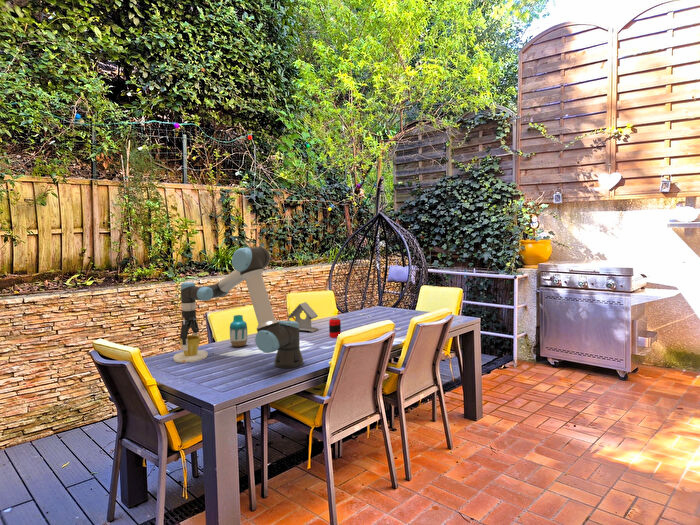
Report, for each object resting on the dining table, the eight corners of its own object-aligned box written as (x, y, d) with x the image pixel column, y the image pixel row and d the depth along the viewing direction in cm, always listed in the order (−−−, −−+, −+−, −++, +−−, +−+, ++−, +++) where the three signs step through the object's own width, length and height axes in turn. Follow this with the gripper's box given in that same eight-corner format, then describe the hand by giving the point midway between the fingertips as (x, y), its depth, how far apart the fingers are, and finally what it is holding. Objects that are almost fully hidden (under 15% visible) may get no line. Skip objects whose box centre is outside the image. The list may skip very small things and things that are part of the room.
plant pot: (194, 357, 237) (193, 340, 236) (177, 356, 239) (176, 339, 238) (204, 352, 247) (203, 335, 246) (187, 351, 249) (187, 335, 248)
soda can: (340, 335, 291) (340, 317, 291) (340, 337, 284) (340, 319, 283) (329, 335, 291) (329, 317, 290) (329, 338, 284) (329, 320, 283)
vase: (226, 347, 264) (225, 316, 262) (236, 343, 274) (235, 313, 272) (241, 349, 260) (240, 317, 259) (251, 344, 270) (250, 314, 269)
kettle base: (200, 362, 234) (200, 359, 233) (167, 362, 234) (167, 359, 234) (212, 353, 252) (212, 350, 251) (182, 353, 252) (181, 350, 252)
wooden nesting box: (318, 330, 307) (317, 302, 306) (311, 333, 299) (311, 304, 297) (295, 328, 314) (294, 301, 313) (288, 331, 306) (288, 303, 304)
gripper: (191, 306, 254) (192, 341, 255) (172, 314, 229) (173, 353, 230) (203, 305, 253) (205, 341, 255) (185, 313, 228) (187, 353, 230)
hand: (190, 347), depth 242 cm, fingers open, 13 cm apart
